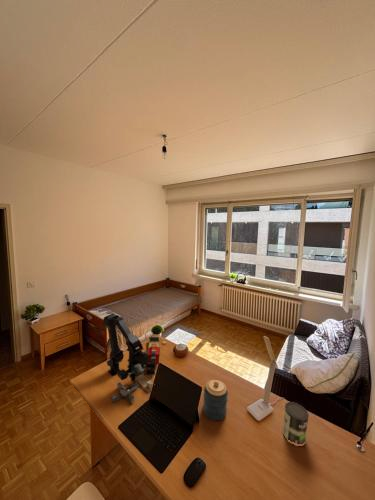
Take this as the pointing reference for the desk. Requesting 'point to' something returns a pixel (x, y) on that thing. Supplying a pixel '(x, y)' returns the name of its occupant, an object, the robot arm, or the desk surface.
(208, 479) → the desk surface
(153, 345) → the toy soldier
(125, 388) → the capstan
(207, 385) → the canister
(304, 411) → the coffee can
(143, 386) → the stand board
